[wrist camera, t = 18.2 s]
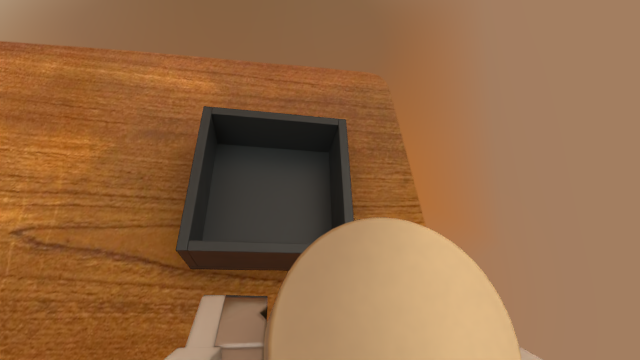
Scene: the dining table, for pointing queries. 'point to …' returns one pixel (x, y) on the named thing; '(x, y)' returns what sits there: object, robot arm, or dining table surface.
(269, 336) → the dowel
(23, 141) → the dining table surface
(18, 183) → the dining table surface
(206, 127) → the bin
